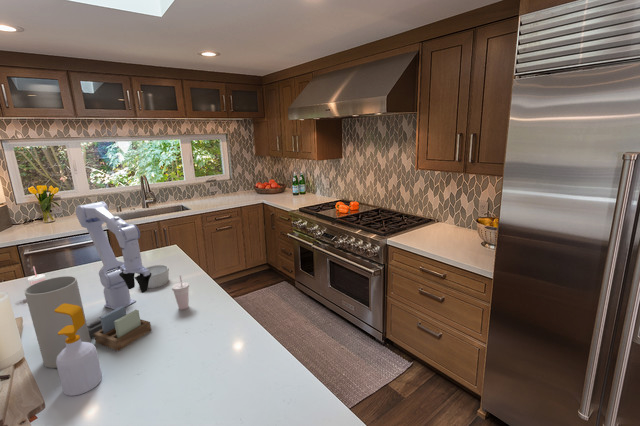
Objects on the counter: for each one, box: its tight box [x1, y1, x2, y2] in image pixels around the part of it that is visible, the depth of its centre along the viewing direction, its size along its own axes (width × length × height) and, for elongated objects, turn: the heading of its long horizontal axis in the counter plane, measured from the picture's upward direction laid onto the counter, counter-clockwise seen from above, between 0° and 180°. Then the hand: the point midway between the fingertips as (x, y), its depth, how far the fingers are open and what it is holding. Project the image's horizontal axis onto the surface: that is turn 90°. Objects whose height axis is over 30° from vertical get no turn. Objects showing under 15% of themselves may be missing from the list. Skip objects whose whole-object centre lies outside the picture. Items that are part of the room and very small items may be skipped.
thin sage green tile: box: [114, 309, 141, 339], centre depth 114 cm, size 1×8×9 cm, turn 155°
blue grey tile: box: [99, 306, 127, 334], centre depth 117 cm, size 1×8×9 cm, turn 155°
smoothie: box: [171, 275, 190, 311], centre depth 133 cm, size 6×6×14 cm
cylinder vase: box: [23, 275, 92, 369], centre depth 104 cm, size 12×12×25 cm
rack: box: [93, 318, 152, 352], centre depth 116 cm, size 12×12×4 cm
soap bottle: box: [54, 303, 103, 397], centre depth 91 cm, size 9×9×25 cm
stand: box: [87, 319, 102, 340], centre depth 122 cm, size 4×12×3 cm, turn 155°
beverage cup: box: [27, 265, 46, 286], centre depth 148 cm, size 6×6×14 cm
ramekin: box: [137, 264, 170, 289], centre depth 157 cm, size 13×13×7 cm
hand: (138, 289), depth 128 cm, fingers open, 7 cm apart
